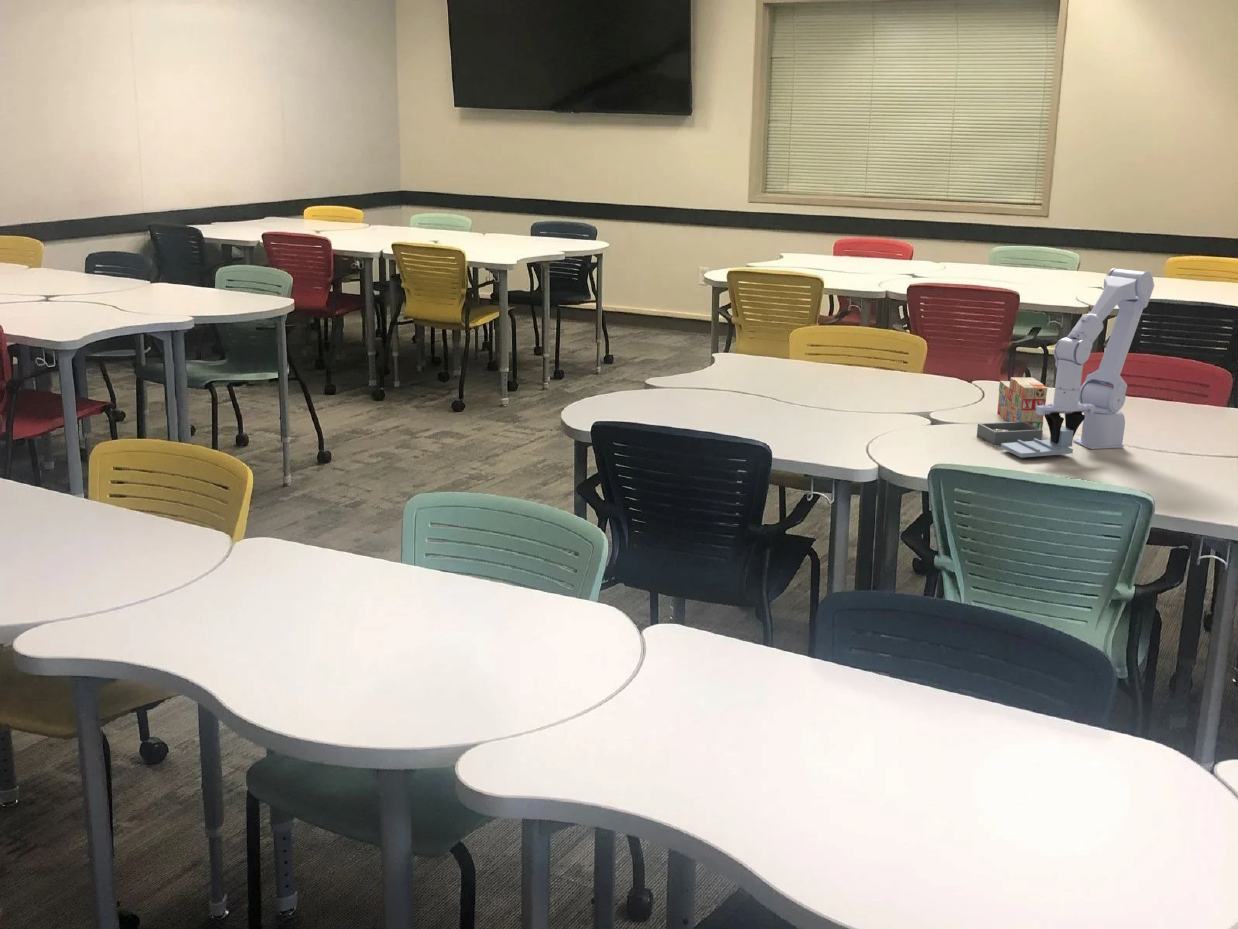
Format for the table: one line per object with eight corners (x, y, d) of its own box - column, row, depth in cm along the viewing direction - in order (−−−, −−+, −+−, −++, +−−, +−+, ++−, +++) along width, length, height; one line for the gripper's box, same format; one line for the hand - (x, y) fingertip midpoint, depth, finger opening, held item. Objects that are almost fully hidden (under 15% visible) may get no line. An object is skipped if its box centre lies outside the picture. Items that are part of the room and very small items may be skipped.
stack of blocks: (996, 413, 334) (1000, 369, 330) (1019, 413, 334) (1023, 370, 330) (1018, 432, 313) (1023, 386, 310) (1042, 433, 313) (1047, 387, 310)
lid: (1055, 442, 298) (1057, 423, 296) (1077, 452, 289) (1078, 432, 287) (1000, 447, 295) (1002, 427, 294) (1020, 457, 286) (1022, 437, 285)
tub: (1022, 434, 311) (1024, 421, 310) (1041, 443, 302) (1042, 430, 301) (976, 436, 308) (977, 423, 307) (993, 445, 300) (995, 432, 299)
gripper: (1085, 383, 294) (1078, 436, 298) (1031, 385, 291) (1025, 439, 295) (1102, 389, 287) (1095, 444, 291) (1047, 391, 284) (1040, 446, 288)
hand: (1061, 442), depth 292 cm, fingers closed on lid, 3 cm apart
